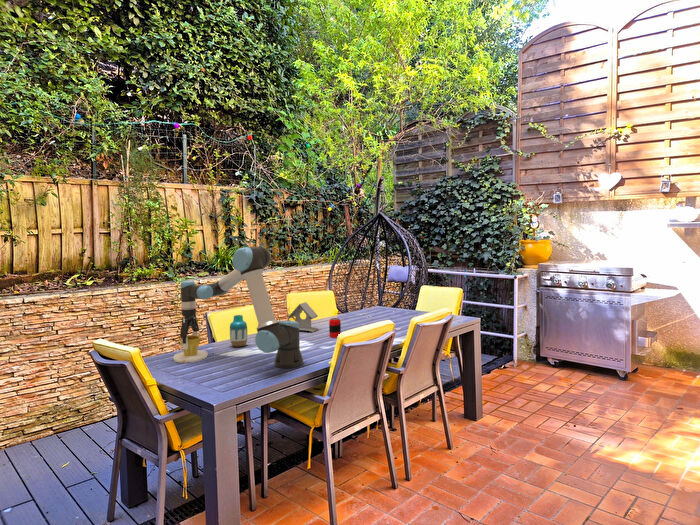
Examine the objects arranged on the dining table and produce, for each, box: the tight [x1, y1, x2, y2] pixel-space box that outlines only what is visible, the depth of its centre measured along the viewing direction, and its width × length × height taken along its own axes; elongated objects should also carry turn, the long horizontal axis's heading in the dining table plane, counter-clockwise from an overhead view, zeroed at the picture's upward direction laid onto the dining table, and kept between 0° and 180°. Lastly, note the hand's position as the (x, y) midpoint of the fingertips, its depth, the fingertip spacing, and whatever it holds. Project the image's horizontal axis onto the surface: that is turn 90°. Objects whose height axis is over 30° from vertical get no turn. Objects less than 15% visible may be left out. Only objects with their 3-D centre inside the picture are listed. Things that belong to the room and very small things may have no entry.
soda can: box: [328, 317, 342, 339], centre depth 287 cm, size 8×8×12 cm
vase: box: [229, 314, 248, 348], centre depth 266 cm, size 11×11×19 cm
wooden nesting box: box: [287, 301, 319, 334], centre depth 306 cm, size 18×10×20 cm, turn 68°
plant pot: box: [179, 334, 201, 356], centre depth 242 cm, size 10×10×10 cm
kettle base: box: [173, 349, 208, 364], centre depth 243 cm, size 18×18×2 cm
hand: (190, 345), depth 242 cm, fingers open, 13 cm apart
